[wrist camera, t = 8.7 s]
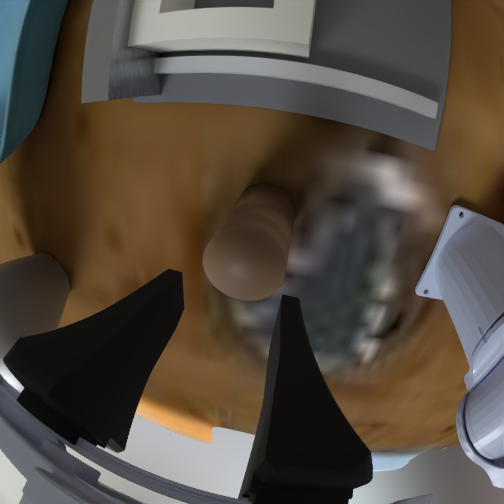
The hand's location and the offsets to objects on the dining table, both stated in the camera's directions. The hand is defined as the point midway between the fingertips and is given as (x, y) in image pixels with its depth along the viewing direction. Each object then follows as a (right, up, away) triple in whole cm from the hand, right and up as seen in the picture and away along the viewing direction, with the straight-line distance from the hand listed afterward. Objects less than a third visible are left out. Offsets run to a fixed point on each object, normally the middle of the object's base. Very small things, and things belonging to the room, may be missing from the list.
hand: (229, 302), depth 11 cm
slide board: (+3, +17, 0) cm, 18 cm away
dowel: (+2, +5, +8) cm, 9 cm away
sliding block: (0, +17, -1) cm, 17 cm away
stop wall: (-5, +19, 0) cm, 19 cm away
